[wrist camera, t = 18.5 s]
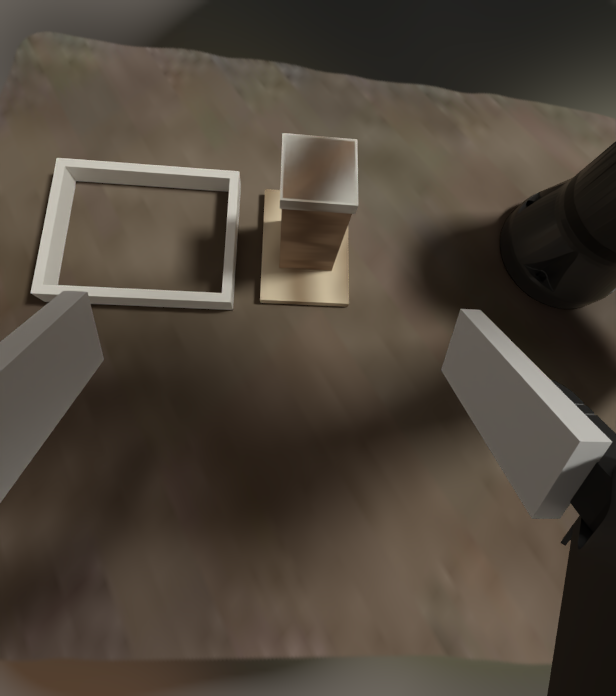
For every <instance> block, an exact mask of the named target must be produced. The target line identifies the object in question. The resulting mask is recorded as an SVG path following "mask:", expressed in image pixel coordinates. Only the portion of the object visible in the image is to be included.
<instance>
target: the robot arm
mask: <svg viewBox="0 0 616 696" xmlns="http://www.w3.org/2000/svg"><path fill="white" fill-rule="evenodd" d="M500 249H501V255H502V258H503V262H504V264H505V267H506V269H507V271H508V272H509V274H510V276H511V277H512V279H513V280H514V281H515V283H516V284H517V285H518V286H519V287H520V288H521V289H522V290H523V291H524V292H526V293H527V294H528V295H529V296H531V297H532V298H534V299H535V300H537V301H539V302H541V303H543V304H546V305H549V306H552V307H556V308H563V309H574V308H580V307H584V306H587V305H589V304H591V303H594V302H596V301H598V300H601V299H603V298H605V297H606V296H608V295H609V294H611V293H612V292H613V291H615V290H616V142H614V143H613V144H612V145H611V146H610V147H609V148H607V149H606V150H605V151H604V152H603V153H601V154H600V155H599V156H598V157H597V158H595V159H594V160H593V161H592V162H591V163H590V164H588V165H587V166H586V167H585V168H584V169H583V170H582V171H580V172H579V173H578V174H577V175H576V176H575V177H573V178H571V179H569V180H567V181H564V182H562V183H560V184H557V185H555V186H553V187H550V188H548V189H546V190H543V191H541V192H539V193H537V194H534V195H533V196H531V197H529V198H528V199H526V200H525V201H524V202H523V203H522V204H520V205H519V206H518V207H517V208H516V209H515V210H514V211H513V212H512V213H511V214H510V215H509V217H508V218H507V220H506V221H505V223H504V225H503V228H502V232H501V237H500ZM103 361H104V357H103V353H102V349H101V345H100V341H99V337H98V333H97V329H96V325H95V320H94V316H93V312H92V308H91V304H90V300H89V296H88V292H84V291H62V292H61V293H60V294H59V295H58V296H56V297H55V298H54V299H53V300H51V301H50V302H49V303H48V304H46V305H45V306H44V307H43V308H42V309H40V310H39V311H38V312H37V313H35V314H34V315H33V316H32V317H30V318H29V319H28V320H27V321H25V322H24V323H23V324H22V325H21V326H19V327H18V328H17V329H16V330H14V331H13V332H12V333H11V334H9V335H8V336H7V337H6V338H5V339H3V340H2V341H1V342H0V503H1V501H2V500H3V499H4V497H5V496H6V494H7V493H8V492H9V490H10V489H11V488H12V486H13V485H14V483H15V482H16V481H17V479H18V478H19V477H20V475H21V474H22V472H23V471H24V470H25V468H26V467H27V465H28V464H29V463H30V461H31V460H32V459H33V457H34V456H35V454H36V453H37V452H38V450H39V449H40V448H41V446H42V445H43V443H44V442H45V441H46V439H47V438H48V436H49V435H50V434H51V432H52V431H53V430H54V428H55V427H56V425H57V424H58V423H59V421H60V420H61V419H62V417H63V416H64V414H65V413H66V412H67V410H68V409H69V407H70V406H71V405H72V403H73V402H74V401H75V399H76V398H77V396H78V395H79V394H80V392H81V391H82V390H83V388H84V387H85V385H86V384H87V383H88V381H89V380H90V378H91V377H92V376H93V374H94V373H95V372H96V370H97V369H98V367H99V366H100V365H101V363H102V362H103ZM441 371H442V373H443V374H444V376H445V377H446V379H447V381H448V382H449V384H450V386H451V387H452V389H453V391H454V392H455V394H456V395H457V397H458V399H459V400H460V402H461V404H462V405H463V407H464V408H465V410H466V412H467V413H468V415H469V417H470V418H471V420H472V422H473V423H474V425H475V426H476V428H477V430H478V431H479V433H480V435H481V436H482V438H483V439H484V441H485V443H486V444H487V446H488V448H489V449H490V451H491V453H492V454H493V456H494V457H495V459H496V461H497V462H498V464H499V466H500V467H501V469H502V470H503V472H504V474H505V475H506V477H507V479H508V480H509V482H510V484H511V485H512V487H513V488H514V490H515V492H516V493H517V495H518V497H519V498H520V500H521V501H522V503H523V505H524V506H525V508H526V510H527V511H528V513H529V515H530V516H531V518H532V519H560V518H561V516H562V515H563V513H564V512H565V510H566V509H567V507H568V506H569V505H570V503H571V504H572V505H573V507H574V508H575V509H576V511H577V512H578V513H579V515H580V516H579V517H578V519H577V520H576V521H575V523H574V524H573V525H572V527H571V528H570V530H569V531H568V532H567V534H566V535H565V536H564V538H563V540H562V541H561V543H562V544H563V545H566V544H567V543H568V541H569V540H571V545H570V551H569V558H568V564H567V571H566V577H565V584H564V590H563V597H562V603H561V610H560V616H559V623H558V629H557V636H556V642H555V649H554V655H553V662H552V668H551V675H550V682H549V688H548V695H547V696H616V433H615V432H614V431H613V430H611V429H610V428H609V427H608V426H607V425H606V424H605V423H604V422H603V421H602V420H601V419H600V418H599V417H598V416H597V415H594V412H593V411H592V410H591V409H590V408H589V407H588V406H587V405H584V402H582V401H581V400H580V399H579V398H578V397H577V396H576V395H575V394H574V393H573V392H572V391H571V390H569V389H568V388H566V387H564V386H563V385H561V384H560V383H558V382H556V381H555V380H550V379H549V378H548V377H547V376H546V375H545V374H544V373H543V372H542V371H541V370H540V369H539V368H538V367H537V366H536V365H535V364H534V363H533V362H532V361H531V360H530V359H529V358H528V357H527V356H526V355H525V354H524V353H523V352H522V351H521V350H520V349H519V348H518V347H517V346H516V345H515V344H514V343H513V342H512V341H511V340H510V339H509V338H508V337H507V336H506V335H505V334H504V333H503V332H502V331H501V330H500V329H499V328H498V327H497V326H496V325H495V324H494V323H493V322H492V321H491V320H490V319H489V318H488V317H487V316H486V315H485V314H484V313H483V312H482V311H481V310H473V309H460V312H459V315H458V318H457V321H456V325H455V328H454V331H453V334H452V337H451V340H450V344H449V347H448V350H447V353H446V356H445V359H444V363H443V366H442V369H441Z"/></svg>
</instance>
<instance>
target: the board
mask: <svg viewBox="0 0 616 696" xmlns="http://www.w3.org/2000/svg"><path fill="white" fill-rule="evenodd" d="M281 212H282V209H280V190H270V189H265V203H264V225H263V247H262V269H261V290H260V303H275V304H297V305H319V306H341V307H347V306H348V305H349V264H348V226H347V229H346V232H345V235H344V238H343V240H342V243H341V246H340V249H339V251H338V254H337V257H336V260H335V263H334V265H333V268H332V271H326V270H309V269H291V268H279V264H280V237H281Z"/></svg>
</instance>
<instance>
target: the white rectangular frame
mask: <svg viewBox="0 0 616 696" xmlns="http://www.w3.org/2000/svg"><path fill="white" fill-rule="evenodd" d="M76 181H83V182H97V183H111V184H125V185H139V186H154V187H168V188H182V189H196V190H211V191H225V192H229V198H228V212H227V226H226V240H225V254H224V268H223V282H222V293H211V292H190V291H169V290H148V289H126V288H105V287H84V286H63V285H58V280H59V275H60V269H61V264H62V258H63V252H64V247H65V241H66V235H67V230H68V224H69V219H70V213H71V207H72V202H73V196H74V191H75V185H76ZM240 191H241V182H240V174H239V171H226V170H213V169H200V168H186V167H173V166H160V165H146V164H133V163H120V162H106V161H93V160H80V159H66V158H57V160H56V165H55V170H54V175H53V180H52V185H51V191H50V196H49V201H48V206H47V211H46V216H45V221H44V227H43V232H42V237H41V242H40V247H39V252H38V257H37V263H36V268H35V273H34V278H33V283H32V288H31V294H33V295H34V296H36V297H38V298H39V299H41V300H43V301H44V302H50V301H51V300H53V299H54V298H55V297H56V296H58V295H59V294H60V293H61V292H62V291H84V292H88V296H89V300H90V304H106V305H129V306H152V307H175V308H198V309H221V310H233V303H234V287H235V271H236V255H237V239H238V223H239V207H240Z"/></svg>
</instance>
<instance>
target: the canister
mask: <svg viewBox="0 0 616 696" xmlns="http://www.w3.org/2000/svg"><path fill="white" fill-rule="evenodd" d="M357 208H358V156H357V139H345V138H334V137H322V136H311V135H299V134H288V133H283V135H282V161H281V186H280V209H282V212H281V237H280V264H279V268H291V269H309V270H326V271H332V268H333V265H334V263H335V260H336V257H337V254H338V251H339V249H340V246H341V243H342V240H343V238H344V235H345V232H346V229H347V226H348V224H349V221H350V218H351V215H352V214H355V213H356V210H357Z"/></svg>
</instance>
